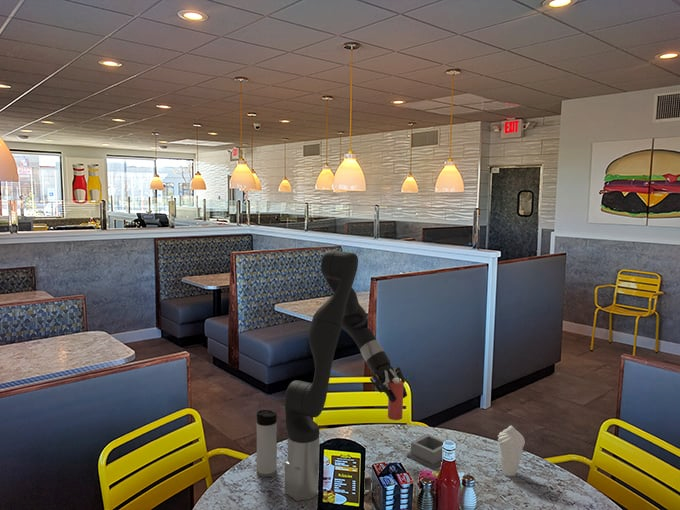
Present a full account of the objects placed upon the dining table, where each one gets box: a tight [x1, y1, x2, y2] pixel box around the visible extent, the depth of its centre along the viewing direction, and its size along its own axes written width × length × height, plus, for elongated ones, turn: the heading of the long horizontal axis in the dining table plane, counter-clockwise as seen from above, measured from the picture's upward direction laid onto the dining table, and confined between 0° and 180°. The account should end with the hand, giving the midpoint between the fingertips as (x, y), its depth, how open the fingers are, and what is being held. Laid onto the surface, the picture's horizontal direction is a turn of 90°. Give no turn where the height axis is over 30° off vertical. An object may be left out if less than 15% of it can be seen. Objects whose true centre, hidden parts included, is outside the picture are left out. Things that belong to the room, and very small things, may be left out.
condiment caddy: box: [406, 433, 445, 470], centre depth 169 cm, size 11×11×5 cm
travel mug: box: [256, 409, 278, 478], centre depth 157 cm, size 6×7×20 cm
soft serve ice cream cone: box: [497, 425, 526, 477], centre depth 159 cm, size 8×8×16 cm
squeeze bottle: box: [387, 378, 405, 421], centre depth 169 cm, size 5×5×14 cm
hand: (399, 398), depth 168 cm, fingers closed on squeeze bottle, 5 cm apart
